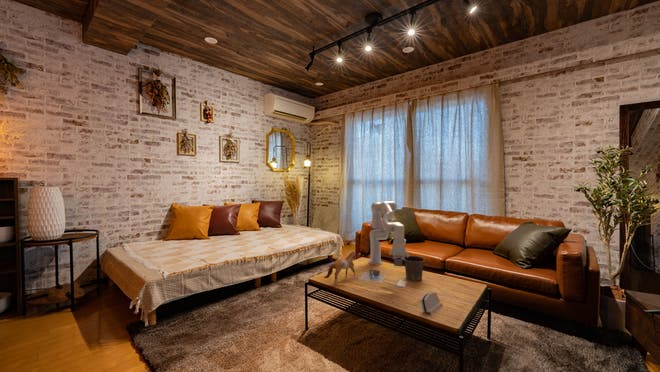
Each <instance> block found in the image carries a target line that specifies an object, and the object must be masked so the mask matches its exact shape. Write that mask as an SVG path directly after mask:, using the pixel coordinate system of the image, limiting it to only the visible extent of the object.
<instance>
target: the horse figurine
mask: <svg viewBox="0 0 660 372" xmlns="http://www.w3.org/2000/svg"><path fill="white" fill-rule="evenodd" d="M356 254H357V251H352V252H350V253H349V255H348V256H347V257H346V258H345V259H343V260H342V259H338V260H336V261H335V262H334V263H333V264H331V265H330V266H329V268H328V269H327V274H326V275H325V276H323V278H324V279H329V278H330V276H331V275H332V274H333V271H334V270H335V272H334V281H333V282H334V284H333V285H334V286H336V285H337V283H338V281H339V278H338V276H339V274H340V272H341V271H342V269H343V270H345V276H344V277H345V278H348V277H347V275H348V269H350V270H351V271H352V272H353V278H356V271H355V268H354V265H355V264H354V261H355V260H356V256H357V255H356Z"/></svg>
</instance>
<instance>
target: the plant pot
mask: <svg viewBox="0 0 660 372" xmlns="http://www.w3.org/2000/svg"><path fill="white" fill-rule="evenodd" d="M424 265H425V258H424V257H421V256H416V255H409V257H407V258H406V259H405V264H404V267H405V278H406V279H407V280H409V281H411V282H420V281H422V280H423V271H424Z"/></svg>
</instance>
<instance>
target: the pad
mask: <svg viewBox="0 0 660 372" xmlns="http://www.w3.org/2000/svg"><path fill="white" fill-rule="evenodd" d="M407 283H408V281H407V280H399V279H398V280H397V281H396V284H395V285H394V287H397V288H398V287H399V288H403V289H405V288H406V286H407Z"/></svg>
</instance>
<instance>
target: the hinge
mask: <svg viewBox="0 0 660 372" xmlns="http://www.w3.org/2000/svg"><path fill="white" fill-rule="evenodd" d="M420 304H421V308H422V313H429V314H430V315H431V316H432V315H434V313H436V312H437V311H438V310H439V309H441V308H443V302H441V301H440V298H439V296H438V294H437V292H427V293H425V294H424V295H423V296H422V297H421V298H420Z"/></svg>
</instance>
